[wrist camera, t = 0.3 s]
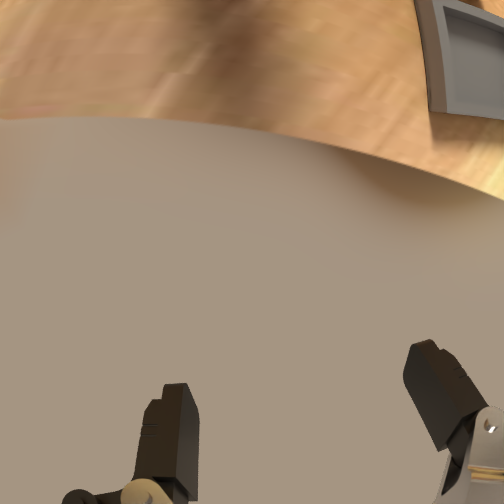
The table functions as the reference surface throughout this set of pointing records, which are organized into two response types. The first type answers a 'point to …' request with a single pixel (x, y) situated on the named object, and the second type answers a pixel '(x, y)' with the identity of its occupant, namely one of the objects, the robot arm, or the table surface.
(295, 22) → the table surface
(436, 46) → the charcoal tray
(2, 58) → the table surface
